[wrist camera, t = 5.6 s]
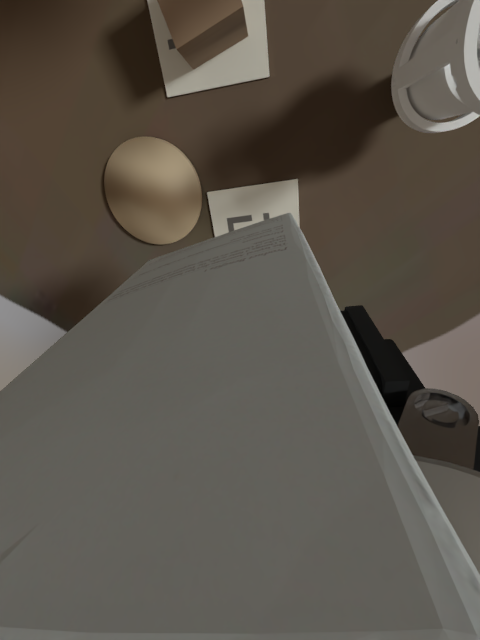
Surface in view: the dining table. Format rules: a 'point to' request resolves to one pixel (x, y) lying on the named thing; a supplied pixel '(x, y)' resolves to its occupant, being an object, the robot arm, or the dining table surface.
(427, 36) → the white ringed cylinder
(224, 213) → the code tile
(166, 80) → the code tile
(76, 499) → the supplement box
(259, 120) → the dining table surface
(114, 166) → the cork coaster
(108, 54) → the dining table surface
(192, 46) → the walnut block
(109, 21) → the dining table surface
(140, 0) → the dining table surface
